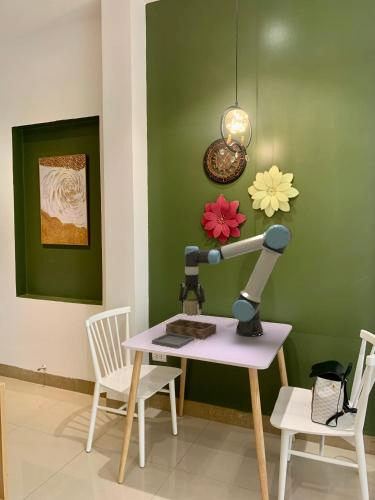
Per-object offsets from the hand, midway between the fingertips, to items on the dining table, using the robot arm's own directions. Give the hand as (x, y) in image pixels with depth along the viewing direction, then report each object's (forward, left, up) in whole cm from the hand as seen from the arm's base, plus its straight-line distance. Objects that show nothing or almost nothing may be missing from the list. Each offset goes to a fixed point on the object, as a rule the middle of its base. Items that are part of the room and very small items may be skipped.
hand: (192, 314), depth 218 cm
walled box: (0, 0, -11) cm, 11 cm away
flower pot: (0, 0, -1) cm, 1 cm away
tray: (0, +19, -11) cm, 22 cm away
